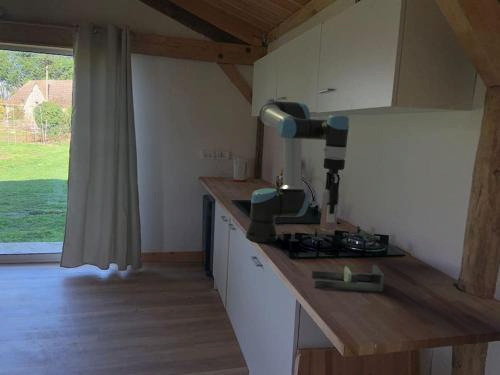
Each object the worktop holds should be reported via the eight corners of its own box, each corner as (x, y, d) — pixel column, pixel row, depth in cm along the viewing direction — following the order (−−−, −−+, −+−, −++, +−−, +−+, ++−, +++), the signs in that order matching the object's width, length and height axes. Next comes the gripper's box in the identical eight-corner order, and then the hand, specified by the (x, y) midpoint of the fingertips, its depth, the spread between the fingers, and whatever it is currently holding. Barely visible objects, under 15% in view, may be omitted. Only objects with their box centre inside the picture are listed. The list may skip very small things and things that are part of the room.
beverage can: (324, 226, 155) (328, 188, 153) (338, 229, 152) (342, 190, 149) (316, 229, 151) (320, 190, 148) (331, 232, 147) (335, 192, 144)
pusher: (343, 279, 145) (344, 266, 144) (352, 280, 145) (354, 266, 144) (347, 287, 138) (348, 273, 138) (357, 287, 138) (358, 274, 138)
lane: (310, 276, 147) (312, 260, 146) (374, 280, 147) (376, 264, 145) (314, 287, 137) (316, 270, 136) (382, 291, 137) (384, 275, 136)
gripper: (320, 155, 156) (315, 212, 160) (328, 160, 137) (322, 225, 141) (339, 156, 156) (334, 214, 160) (350, 161, 137) (343, 227, 141)
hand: (328, 219), depth 151 cm, fingers closed on beverage can, 6 cm apart
